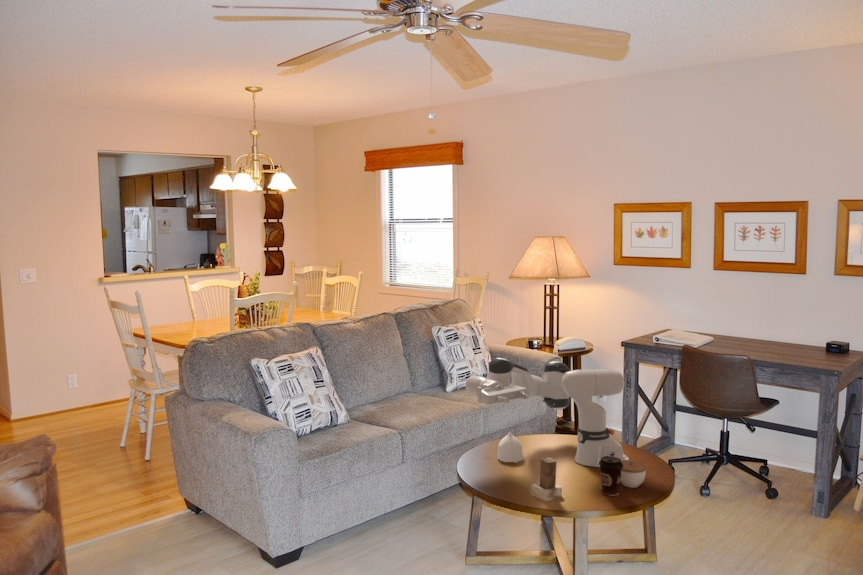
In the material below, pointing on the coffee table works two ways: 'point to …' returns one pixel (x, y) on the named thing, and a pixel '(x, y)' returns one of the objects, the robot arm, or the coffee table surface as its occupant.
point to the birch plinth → (546, 492)
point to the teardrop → (510, 449)
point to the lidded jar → (632, 473)
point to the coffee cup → (610, 475)
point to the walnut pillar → (548, 473)
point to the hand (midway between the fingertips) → (516, 398)
